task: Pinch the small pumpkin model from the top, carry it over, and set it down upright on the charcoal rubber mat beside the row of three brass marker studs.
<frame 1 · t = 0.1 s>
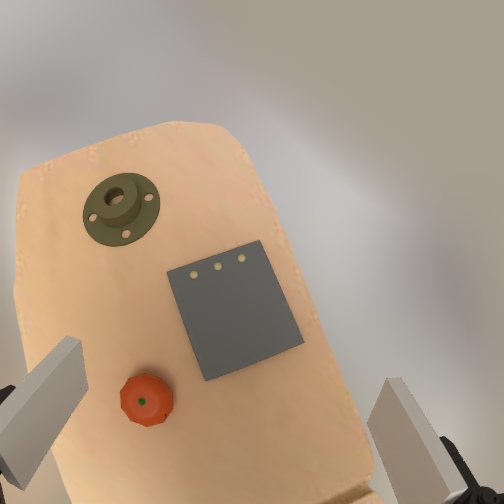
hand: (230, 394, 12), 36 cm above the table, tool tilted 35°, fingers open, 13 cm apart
flange: (121, 209, 55), on the table
mat: (233, 309, 49), on the table
pumpkin: (152, 398, 43), on the table
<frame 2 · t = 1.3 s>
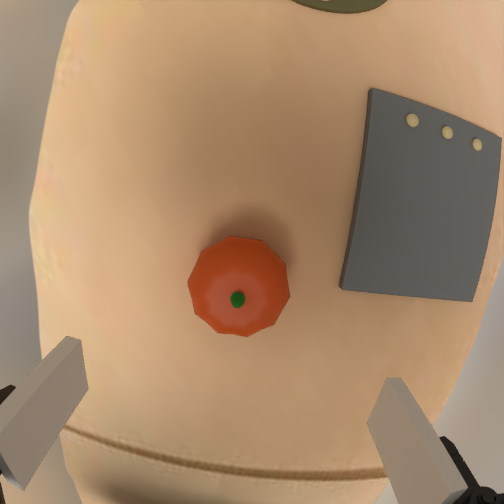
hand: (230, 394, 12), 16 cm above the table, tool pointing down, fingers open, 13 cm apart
mat: (431, 203, 26), on the table
pumpkin: (240, 272, 28), on the table
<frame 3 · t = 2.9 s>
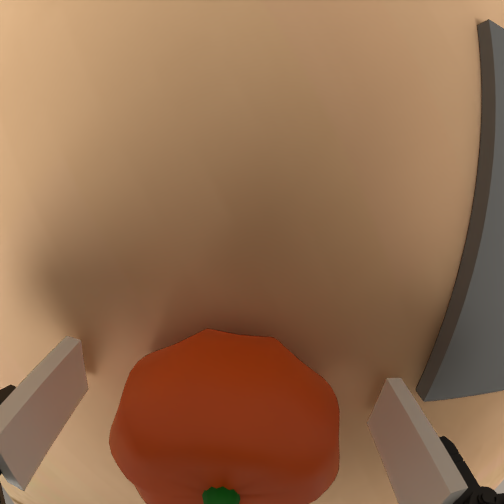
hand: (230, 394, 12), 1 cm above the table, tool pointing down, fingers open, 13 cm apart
pumpkin: (231, 380, 13), on the table
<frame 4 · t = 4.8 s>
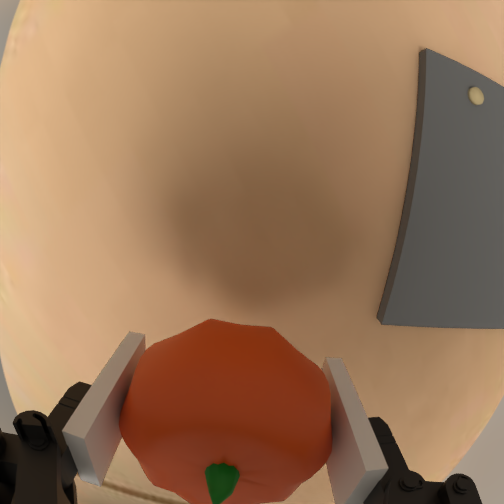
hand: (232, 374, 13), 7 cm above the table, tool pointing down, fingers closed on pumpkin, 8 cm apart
mat: (494, 208, 18), on the table
pumpkin: (232, 369, 14), point 6 cm above the table, touching gripper
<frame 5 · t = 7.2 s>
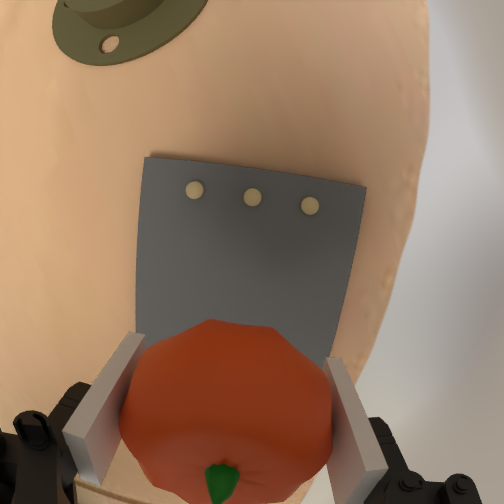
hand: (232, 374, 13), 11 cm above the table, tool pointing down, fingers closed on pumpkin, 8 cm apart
mat: (240, 287, 24), on the table
pumpkin: (232, 369, 14), point 11 cm above the table, touching gripper
when the fingers open (2 cm above the table, at t = 9.6 s): pumpkin stays where it is, resting on mat.
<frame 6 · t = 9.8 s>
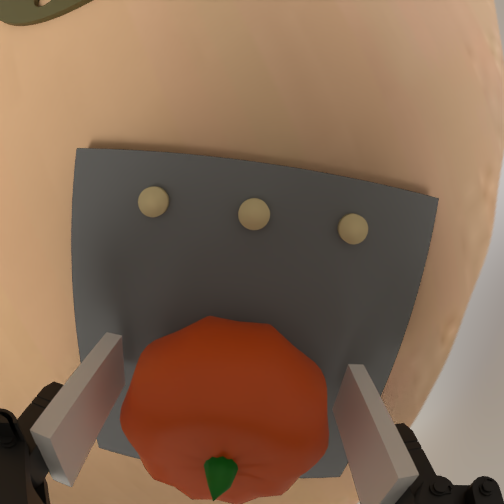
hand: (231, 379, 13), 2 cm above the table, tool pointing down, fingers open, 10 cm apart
mat: (234, 353, 15), on the table
pumpkin: (231, 365, 14), point 1 cm above the table, touching mat
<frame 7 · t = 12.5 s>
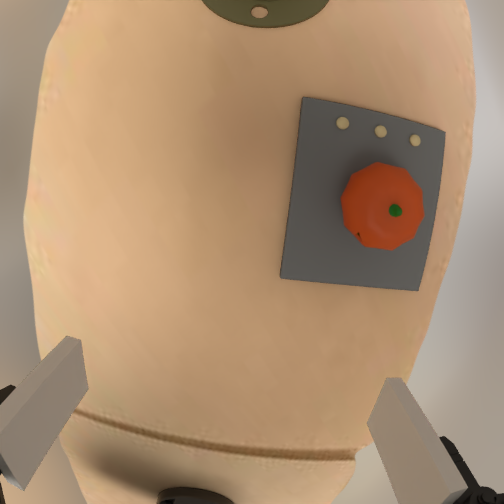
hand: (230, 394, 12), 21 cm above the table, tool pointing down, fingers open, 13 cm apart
mat: (367, 199, 31), on the table
pumpkin: (369, 201, 30), point 1 cm above the table, touching mat
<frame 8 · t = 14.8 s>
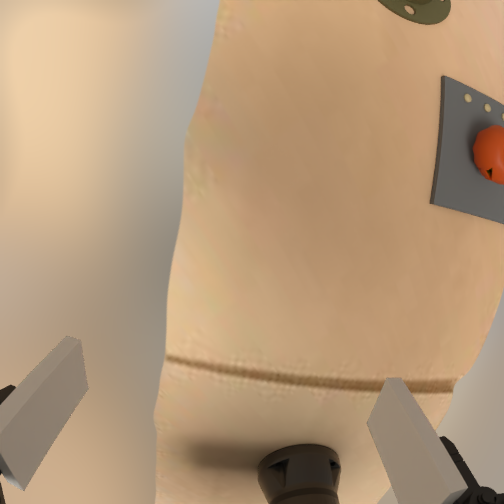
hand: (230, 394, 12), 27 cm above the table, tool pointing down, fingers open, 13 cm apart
mat: (480, 153, 35), on the table
pumpkin: (482, 154, 34), point 1 cm above the table, touching mat
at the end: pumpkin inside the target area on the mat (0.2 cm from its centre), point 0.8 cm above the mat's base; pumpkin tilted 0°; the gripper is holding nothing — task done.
